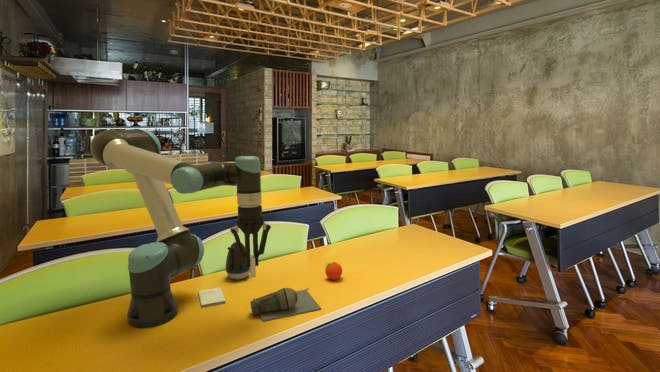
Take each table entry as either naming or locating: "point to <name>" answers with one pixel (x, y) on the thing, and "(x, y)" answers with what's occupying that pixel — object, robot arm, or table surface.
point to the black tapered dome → (236, 263)
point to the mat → (302, 306)
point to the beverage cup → (275, 301)
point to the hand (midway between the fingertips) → (252, 275)
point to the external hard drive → (211, 297)
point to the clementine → (333, 270)
